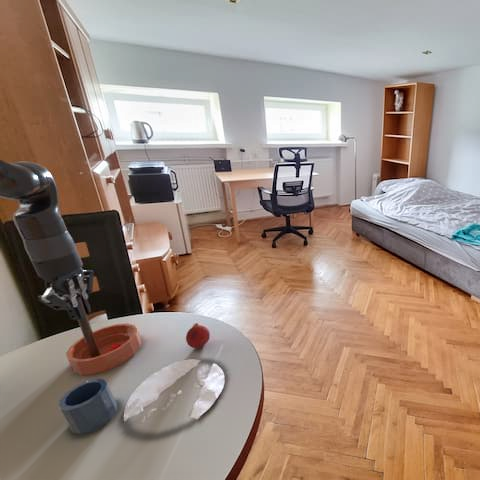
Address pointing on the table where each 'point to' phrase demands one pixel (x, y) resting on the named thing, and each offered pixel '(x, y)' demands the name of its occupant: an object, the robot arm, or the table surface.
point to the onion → (197, 336)
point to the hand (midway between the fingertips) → (82, 315)
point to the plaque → (166, 378)
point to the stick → (87, 331)
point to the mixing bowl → (105, 349)
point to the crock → (88, 406)
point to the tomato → (114, 347)
